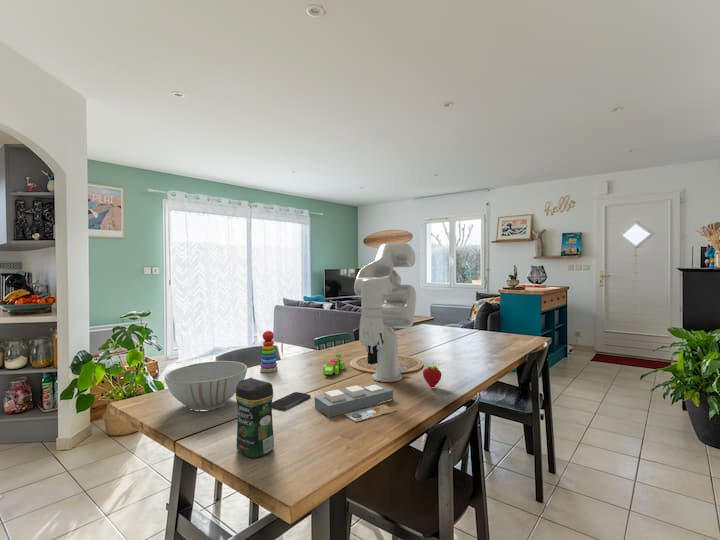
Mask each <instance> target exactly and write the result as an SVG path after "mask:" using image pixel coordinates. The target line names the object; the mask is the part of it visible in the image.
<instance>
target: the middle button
mask: <svg viewBox="0 0 720 540" xmlns="http://www.w3.org/2000/svg"><path fill="white" fill-rule="evenodd" d="M344 390H345V394H347V395H349V396H350V397H356V396H360V395H365V389H364V388H362V387H361V386H360V385H352V386H348V387H344Z"/></svg>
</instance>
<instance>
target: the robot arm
mask: <svg viewBox="0 0 720 540" xmlns="http://www.w3.org/2000/svg"><path fill="white" fill-rule="evenodd" d="M415 264H416V253H415V250H414V248H413V247H412V246H411V245H410V244H409V243H407V242H386V243H383V244H381V245H380V246H379V248H378V250H377V252H376V255H375V258H374V261H373V260H372V262H370V263H369V264H367V265H365V266H363V267H362V268H361V269H359V271H358V273H357V275H356V277H355V280H354V284H353V291H354V294H355V295H356V296H358V297H360V298H361V302H360V303H361V315H360V319H359V320H360V321H359V328H358V329H359V332H358V333H359V334H358V335H359V336H358V337H359V338H358V339H359V342H360V343H361V344H362V346H365V349H366V352H367V364H368V365H370V366H371V365H375V372H374V373H373V374H372V379H373V380H374V381H376V382H379V381H380V382H381V383H395V382H398V381H401V380H402V379H403V375H402V374H401V373H403V372H407V371H408V368H407V366H400V365H399V337H398V334H397V332H395V329H393V328H410V327H412V326H413V324H414V322H415V318H416V317H415V315H416V304H417V292H416V289H415V286H413V285H412V284H402V283H401V282H402V278H401V276H400V274H399V273H398V272H397V271H396V270H395V269H394V268H411V267H413V266H415Z"/></svg>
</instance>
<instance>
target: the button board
mask: <svg viewBox="0 0 720 540" xmlns="http://www.w3.org/2000/svg"><path fill="white" fill-rule="evenodd" d="M371 385H377V386H379V387H382V388H383V390H381V391H377V392H373V393H371V392H369V391H367V390H365V395H360V396H356V397H350V396H349V395H347V394H345V399H344V400H340V401H335V402H330V401H328V400H327V399H325V394H322V395H317V396H314V409H316V410H318V411H320V413H322V414H323V415H325V416H326V415H327V416H326V417H328V418H331V417H334V416H339V415H342V413H343V414H346V413H345V412H347V413H350V412H354V411H357V410H356V409H358V410H361V409H360V408H362V409H364V408H363V407H366V408H368V407H367V406H369V407H371V406H370V405H373V406H375V405H374V404H377V403H380V402H383V401H387V400H390V399H393V400H394V390H393V389H391V388H389V387H387V386H384V385H382V384H380V383H378V382H375V383H371V384H366V385H362V386H360V387H362V388H364V387H367V386H371ZM340 391H341V392H343V393H345V389H343V390H340ZM377 405H378V404H377ZM353 410H354V411H353ZM349 411H350V412H349Z"/></svg>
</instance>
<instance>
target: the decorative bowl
mask: <svg viewBox="0 0 720 540" xmlns="http://www.w3.org/2000/svg"><path fill="white" fill-rule="evenodd" d="M247 373H248V366H247V365H246V364H245V363H243V362H239V361H230V360H215V361H203V362H196V363H191V364H187V365H183V366H180V367H176V368H174V369H171V370H169V371H168V372H167V373H165V375H164V381H165V384H166V387H167V388H168V390H169V392H170V394H171V395H172V396H173V397H174V398H175V399H176V400H177V401H178V402H180V403H181V404H183V405H184V406H187V407H188V409H189V408H190V409H192V410H191V411H193V410H199V411H198V412H201V411H200V410H210V411H213V410H212V409H214V410H217V409H216V408H218V409H220V408H222V407H224V406H225V405H226V404H227V403H228V401H229V400H230V399H231V398H233V397H234V396H235V395H236V386H237V384H238V383H239V381H241V380H245V379H246V376H247ZM223 405H224V406H223ZM221 406H222V407H221ZM219 407H220V408H219ZM190 409H189V410H190Z"/></svg>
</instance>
